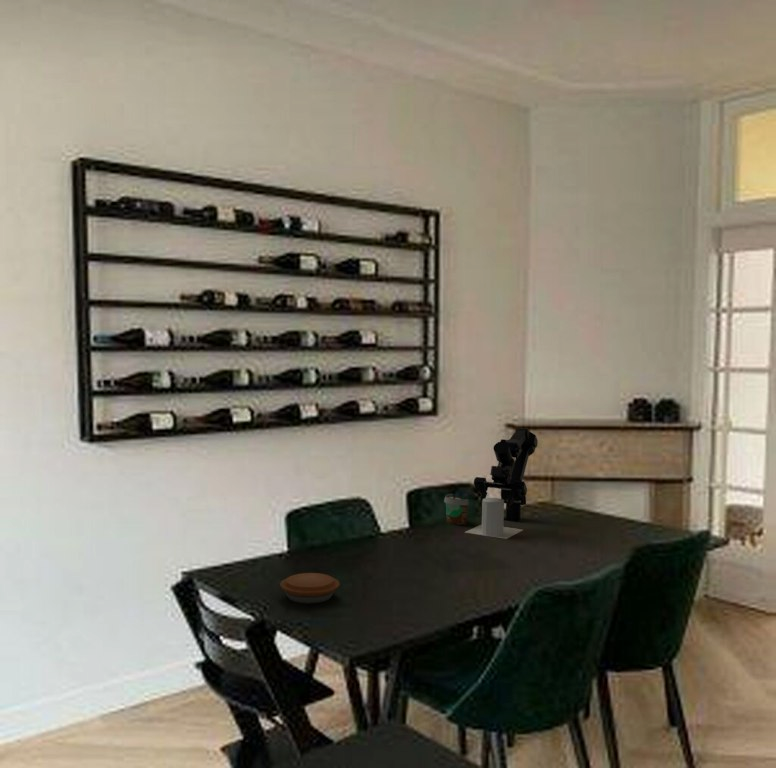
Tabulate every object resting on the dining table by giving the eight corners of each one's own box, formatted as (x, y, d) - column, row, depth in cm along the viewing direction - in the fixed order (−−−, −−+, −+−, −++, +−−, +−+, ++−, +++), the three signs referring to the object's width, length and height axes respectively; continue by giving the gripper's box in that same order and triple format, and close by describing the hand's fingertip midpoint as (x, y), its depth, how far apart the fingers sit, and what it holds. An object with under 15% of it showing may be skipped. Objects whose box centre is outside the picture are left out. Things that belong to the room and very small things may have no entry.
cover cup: (493, 530, 279) (494, 497, 278) (507, 534, 272) (508, 500, 272) (477, 532, 275) (478, 499, 274) (491, 537, 268) (492, 502, 268)
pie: (267, 596, 203) (268, 577, 203) (313, 584, 214) (314, 566, 214) (304, 611, 192) (305, 591, 192) (351, 597, 203) (351, 578, 203)
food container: (437, 520, 294) (438, 494, 293) (451, 519, 296) (452, 493, 296) (453, 527, 282) (454, 500, 282) (468, 526, 285) (468, 499, 284)
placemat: (482, 524, 288) (482, 523, 288) (523, 530, 280) (523, 529, 280) (464, 533, 275) (464, 532, 275) (506, 539, 266) (506, 538, 266)
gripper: (475, 455, 283) (465, 490, 273) (525, 459, 275) (516, 495, 266) (481, 473, 290) (471, 507, 281) (530, 477, 282) (522, 513, 273)
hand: (494, 505), depth 275 cm, fingers open, 9 cm apart
